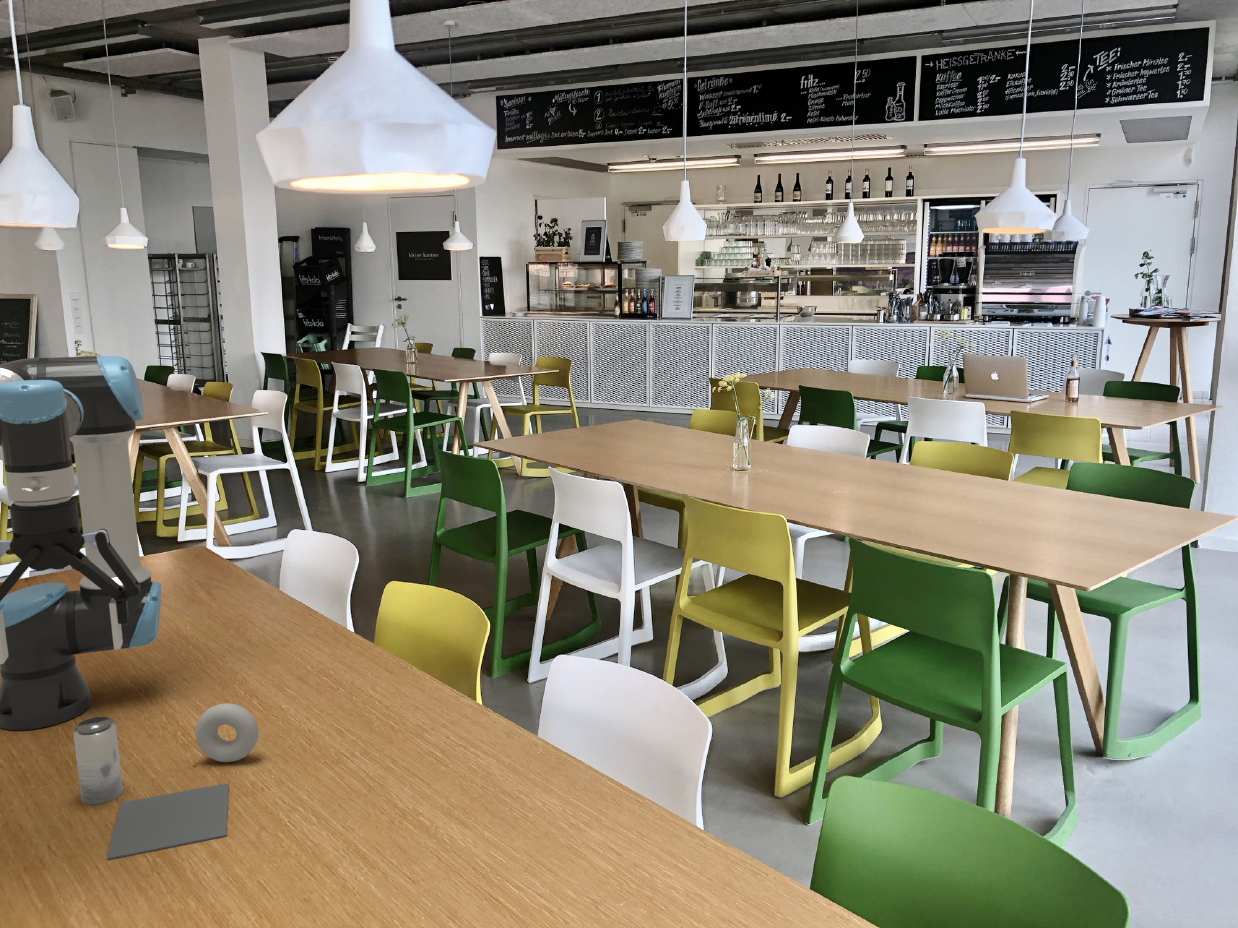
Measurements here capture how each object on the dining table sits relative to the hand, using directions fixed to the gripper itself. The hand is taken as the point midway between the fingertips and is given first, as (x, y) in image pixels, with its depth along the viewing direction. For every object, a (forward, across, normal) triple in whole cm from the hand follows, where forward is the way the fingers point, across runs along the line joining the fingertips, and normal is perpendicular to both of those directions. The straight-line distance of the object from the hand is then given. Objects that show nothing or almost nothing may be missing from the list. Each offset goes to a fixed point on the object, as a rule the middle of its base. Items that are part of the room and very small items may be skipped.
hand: (61, 653), depth 124 cm
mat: (+28, +11, +2) cm, 30 cm away
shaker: (+28, 0, +13) cm, 31 cm away
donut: (+28, +18, +17) cm, 38 cm away
